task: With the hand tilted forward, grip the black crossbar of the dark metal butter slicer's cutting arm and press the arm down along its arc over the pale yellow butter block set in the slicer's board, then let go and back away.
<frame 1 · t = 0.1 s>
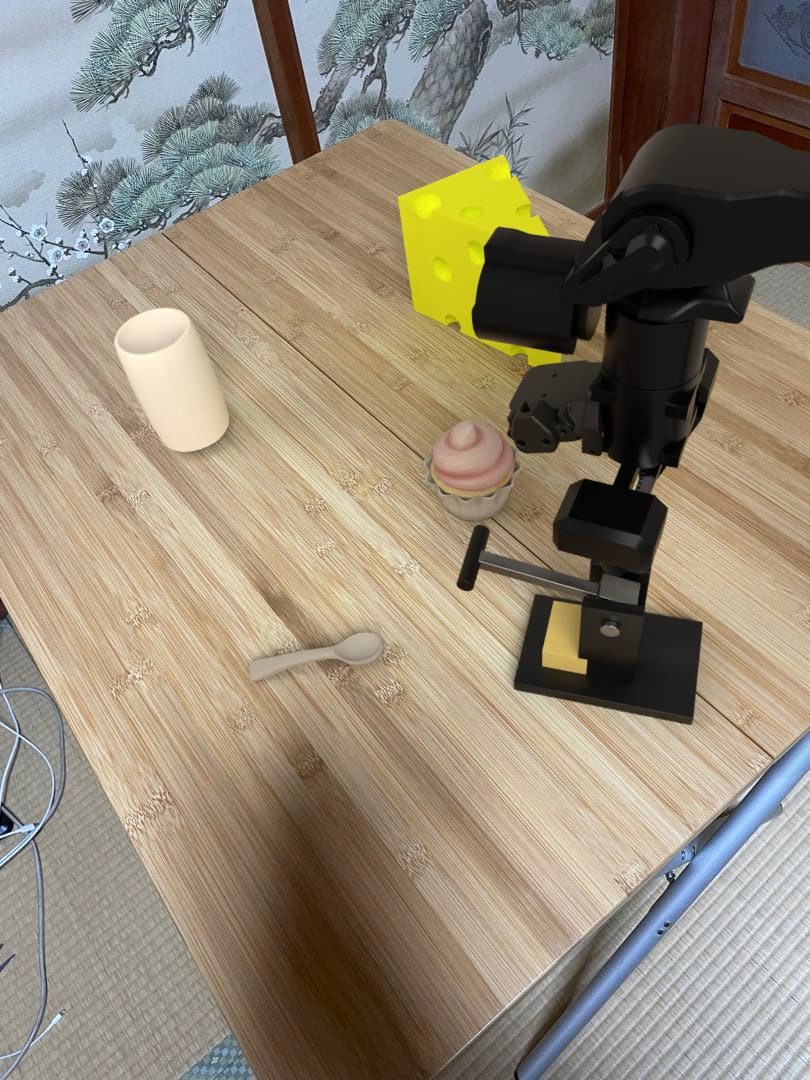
hand: (630, 525, 62), 13 cm above the table, tool pointing down, fingers open, 9 cm apart
cup: (199, 435, 93), on the table
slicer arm: (548, 578, 63), point 10 cm above the table, hinge at 12.0°
cheese wedge: (490, 319, 100), on the table
butter: (569, 644, 69), resting on slicer
spoon: (318, 664, 73), on the table
cupcake: (476, 499, 82), on the table
slicer: (608, 659, 69), on the table
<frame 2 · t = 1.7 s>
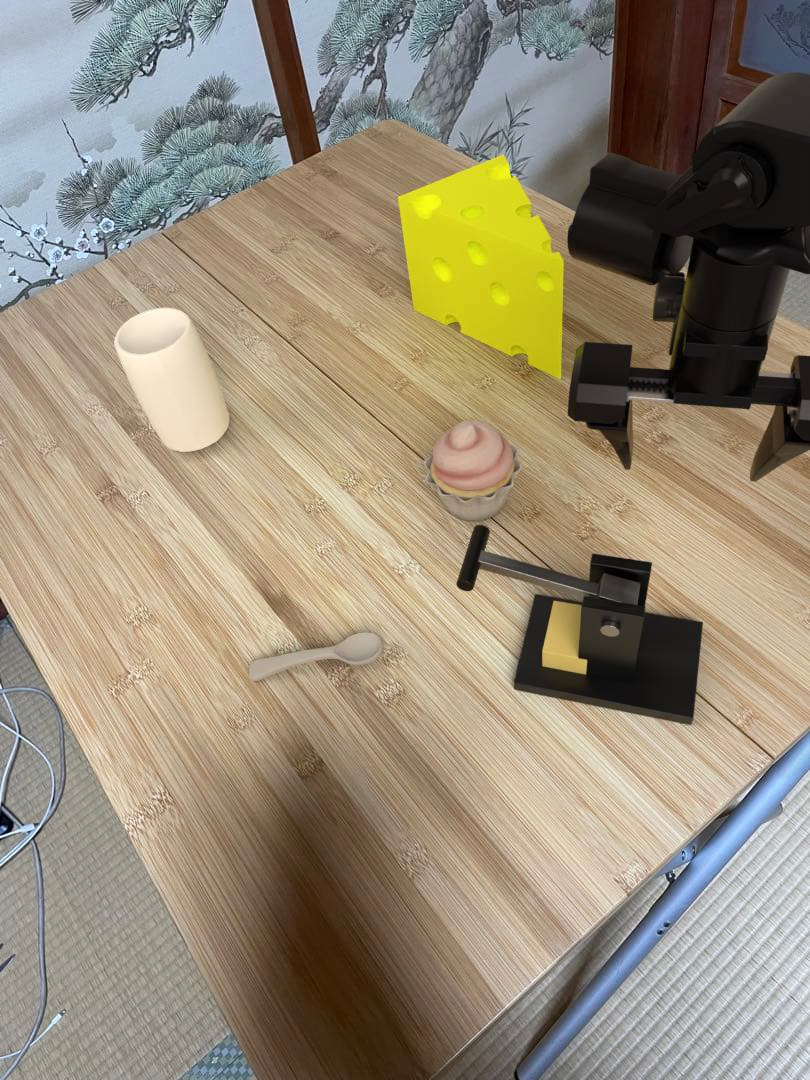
hand: (689, 471, 64), 13 cm above the table, tool pointing down, fingers open, 9 cm apart
nothing on the table moved.
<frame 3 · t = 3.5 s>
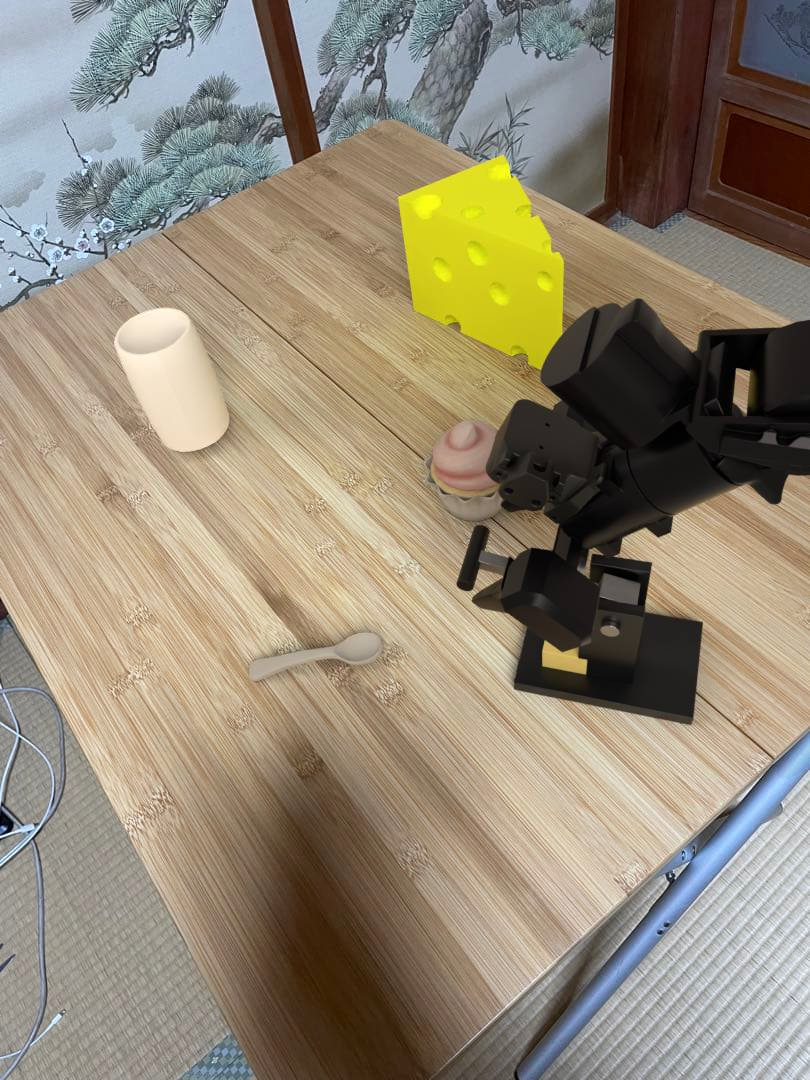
hand: (491, 553, 63), 12 cm above the table, tool tilted 45°, fingers open, 9 cm apart
nothing on the table moved.
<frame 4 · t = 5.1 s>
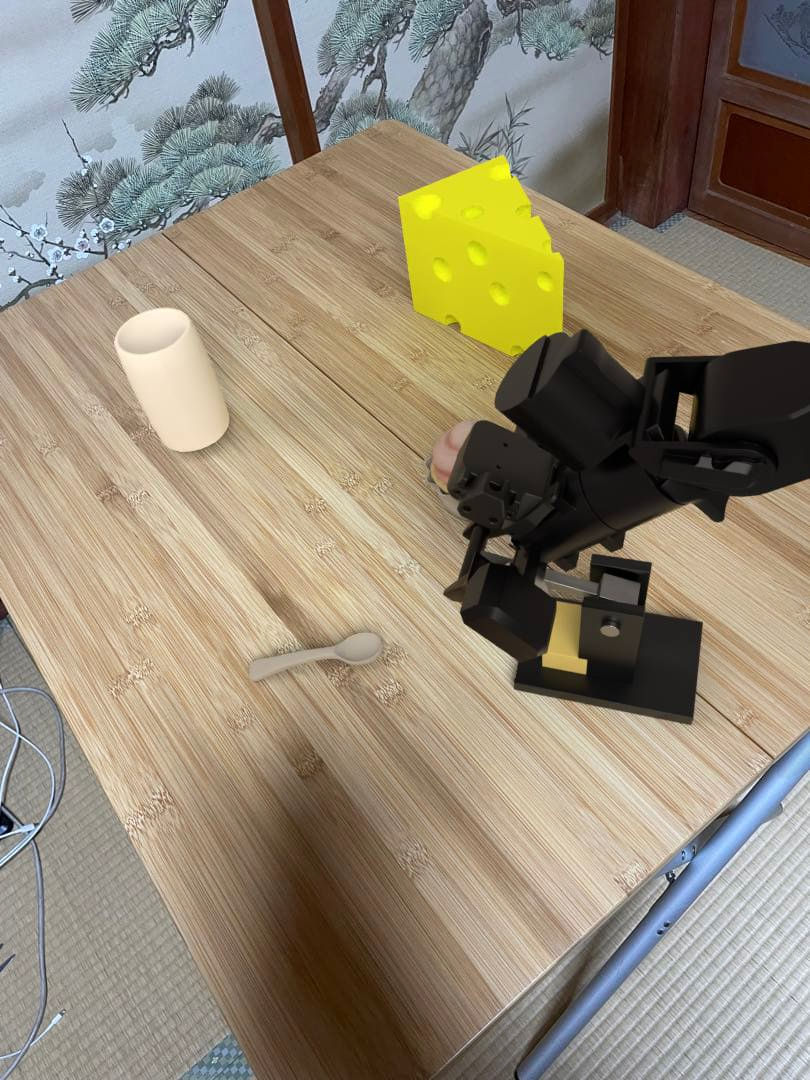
hand: (457, 565, 65), 10 cm above the table, tool tilted 45°, fingers closed on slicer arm, 5 cm apart
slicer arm: (548, 578, 63), point 10 cm above the table, hinge at 12.0°, touching gripper
everything else where it was.
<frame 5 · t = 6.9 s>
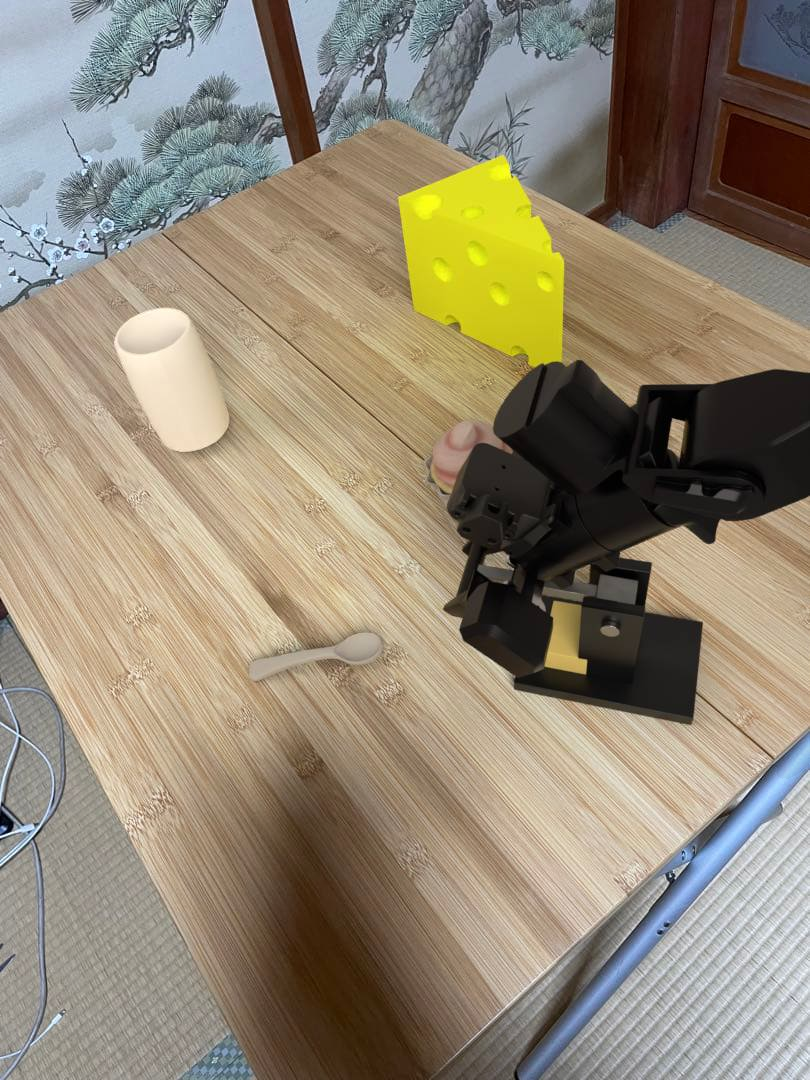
hand: (457, 580, 67), 8 cm above the table, tool tilted 45°, fingers closed on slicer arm, 5 cm apart
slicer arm: (547, 585, 64), point 9 cm above the table, hinge at 1.6°, touching gripper
everything else where it was.
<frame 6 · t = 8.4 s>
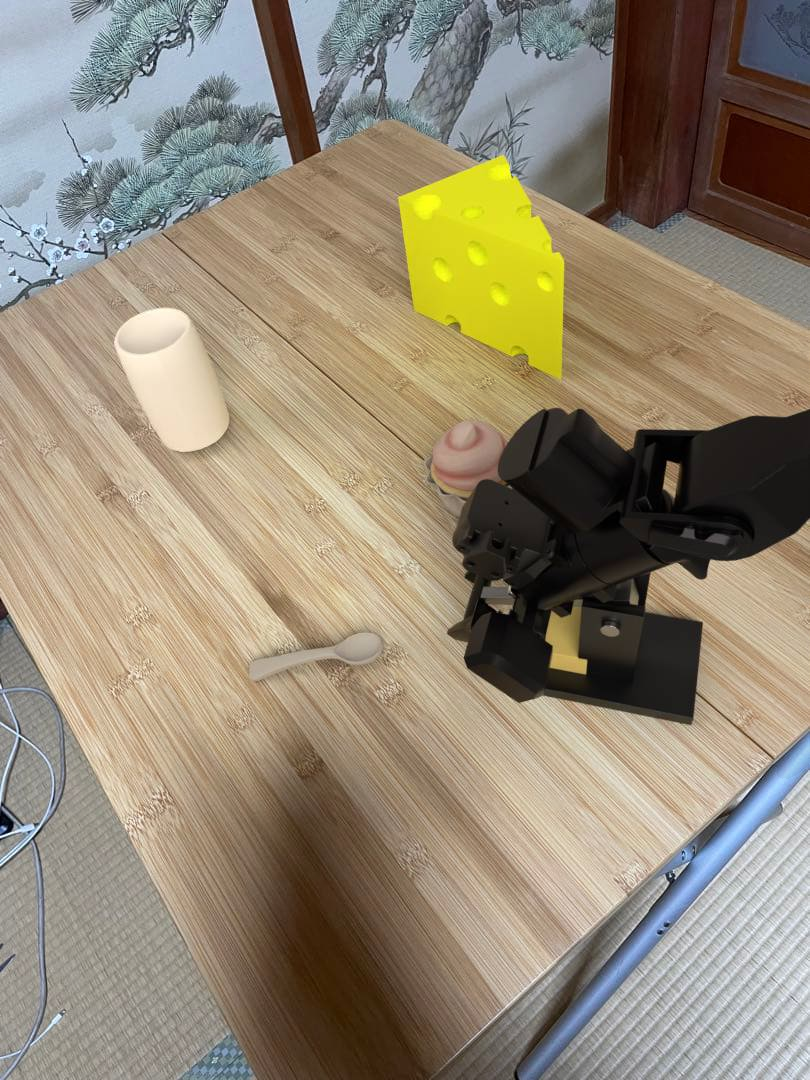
hand: (460, 606, 69), 4 cm above the table, tool tilted 45°, fingers closed on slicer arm, 5 cm apart
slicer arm: (549, 596, 65), point 8 cm above the table, hinge at -14.6°, touching gripper
everything else where it was.
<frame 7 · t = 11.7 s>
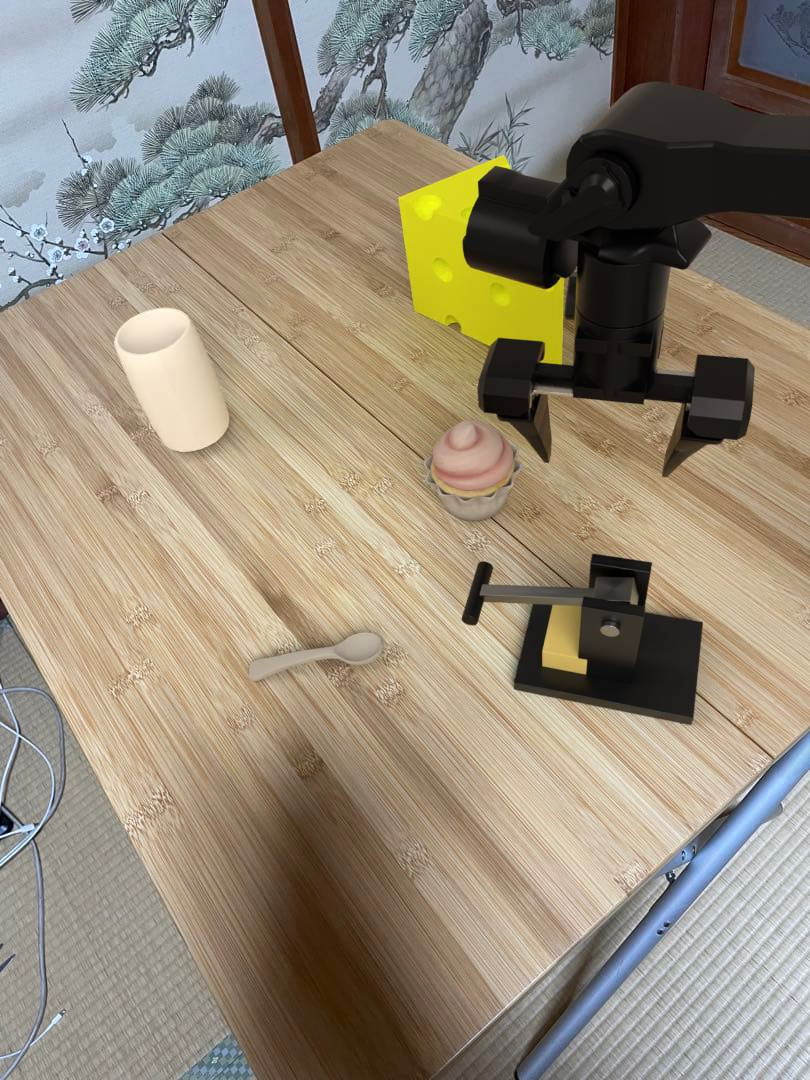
hand: (605, 465, 66), 12 cm above the table, tool pointing down, fingers open, 9 cm apart
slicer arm: (548, 595, 65), point 8 cm above the table, hinge at -12.8°
everything else where it was.
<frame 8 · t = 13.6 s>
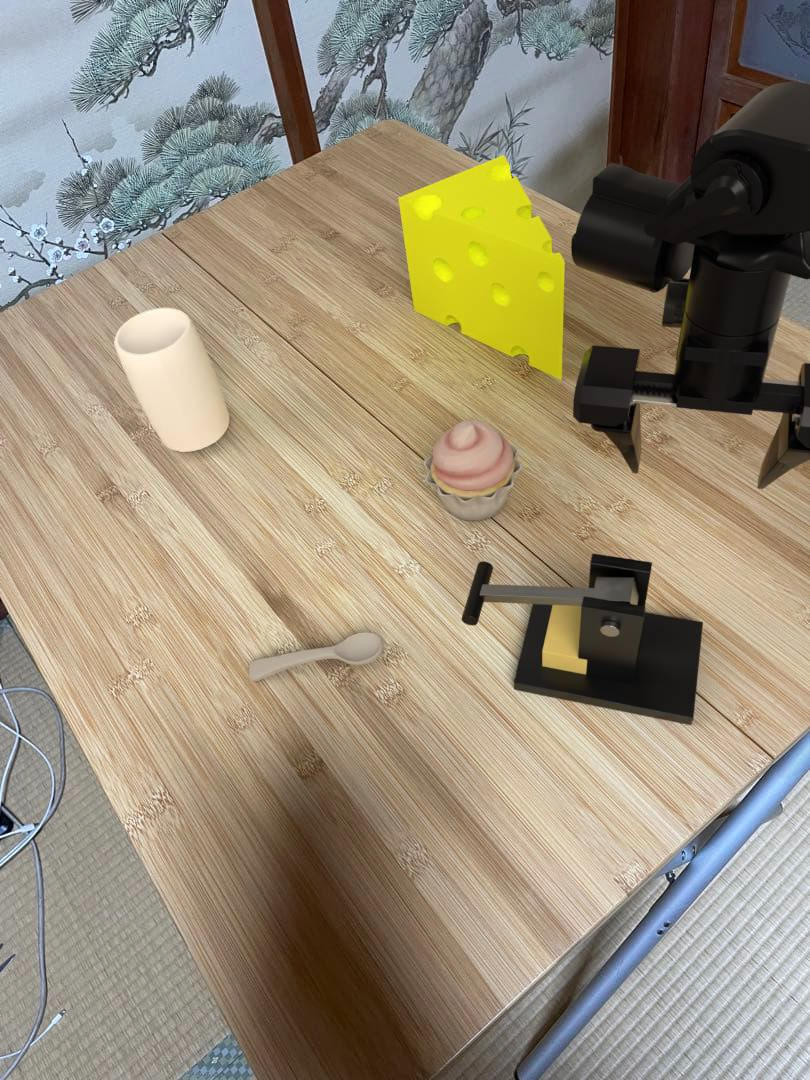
hand: (696, 476, 65), 12 cm above the table, tool pointing down, fingers open, 9 cm apart
nothing on the table moved.
at the end: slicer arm at -13° (first picture: +12°); cheese wedge moved 0.3 cm from its start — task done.
